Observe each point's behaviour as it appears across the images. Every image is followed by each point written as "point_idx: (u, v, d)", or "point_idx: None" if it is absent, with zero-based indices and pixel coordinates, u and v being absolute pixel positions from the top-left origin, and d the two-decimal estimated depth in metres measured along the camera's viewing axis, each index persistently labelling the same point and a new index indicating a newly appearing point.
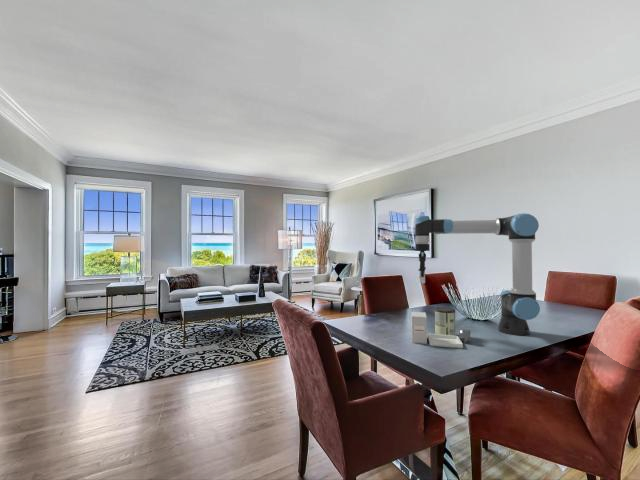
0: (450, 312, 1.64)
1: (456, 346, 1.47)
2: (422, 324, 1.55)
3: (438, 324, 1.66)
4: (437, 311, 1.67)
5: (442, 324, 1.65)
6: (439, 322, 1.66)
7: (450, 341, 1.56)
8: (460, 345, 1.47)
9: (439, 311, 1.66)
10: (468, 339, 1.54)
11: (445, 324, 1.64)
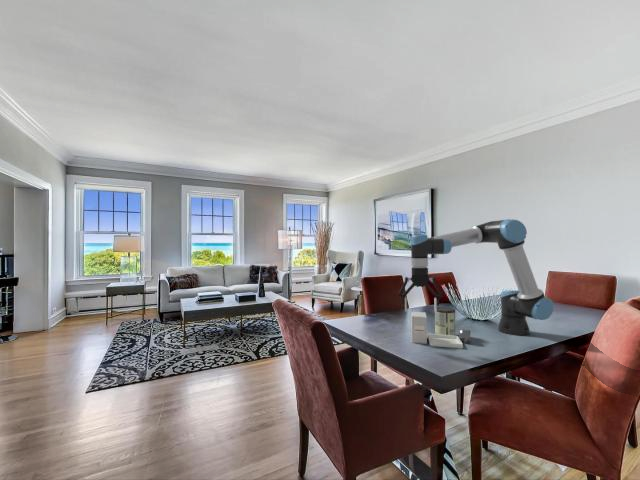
0: (450, 312, 1.64)
1: (456, 346, 1.47)
2: (422, 324, 1.55)
3: (438, 324, 1.66)
4: (437, 311, 1.67)
5: (442, 324, 1.65)
6: (439, 322, 1.66)
7: (450, 341, 1.56)
8: (460, 345, 1.47)
9: (439, 311, 1.66)
10: (468, 339, 1.54)
11: (445, 324, 1.64)
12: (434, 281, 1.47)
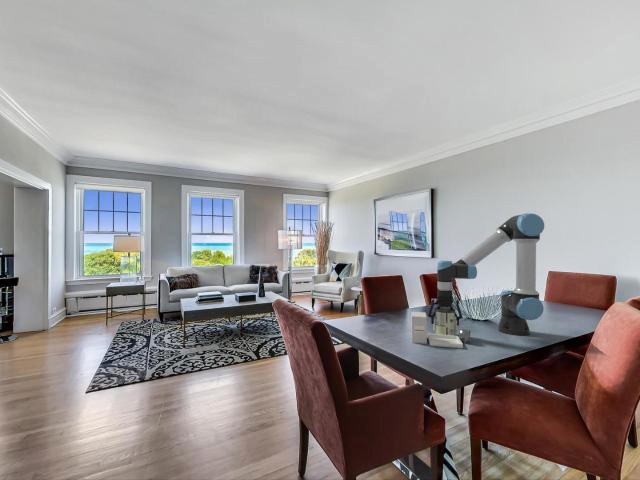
0: (450, 312, 1.64)
1: (456, 346, 1.47)
2: (422, 324, 1.55)
3: (438, 324, 1.66)
4: (437, 311, 1.67)
5: (442, 324, 1.65)
6: (439, 322, 1.66)
7: (450, 341, 1.56)
8: (460, 345, 1.47)
9: (439, 311, 1.66)
10: (468, 339, 1.54)
11: (445, 324, 1.64)
12: (457, 303, 1.66)
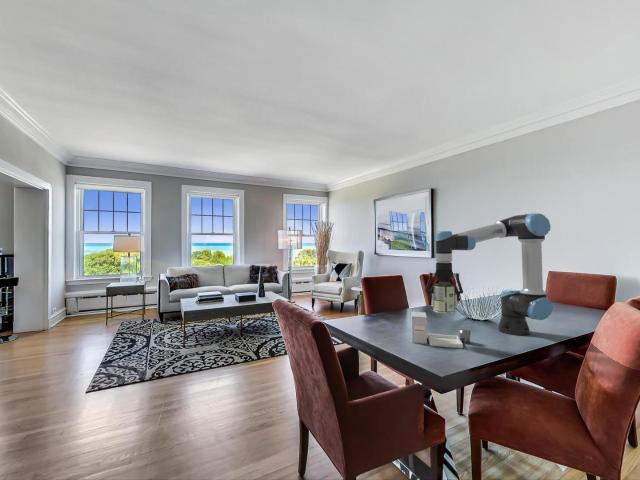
0: (449, 286, 1.51)
1: (456, 346, 1.47)
2: (422, 324, 1.55)
3: (436, 299, 1.54)
4: (435, 285, 1.54)
5: (441, 299, 1.52)
6: (437, 297, 1.53)
7: (450, 341, 1.56)
8: (460, 345, 1.47)
9: (437, 285, 1.53)
10: (468, 339, 1.54)
11: (444, 299, 1.51)
12: (457, 277, 1.53)
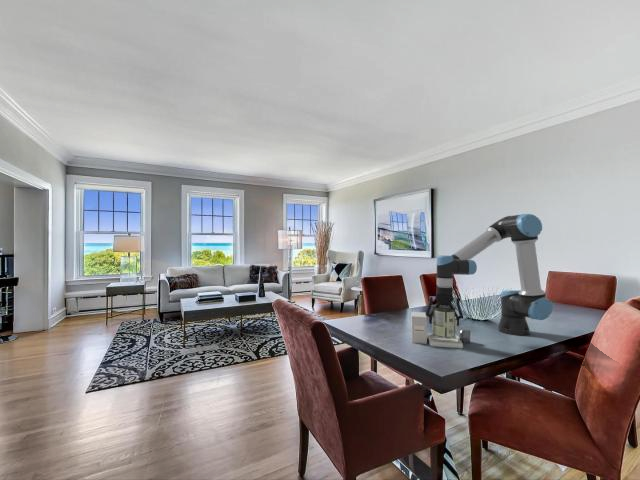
0: (450, 311, 1.51)
1: (456, 346, 1.47)
2: (422, 324, 1.55)
3: (436, 324, 1.54)
4: (435, 310, 1.54)
5: (441, 324, 1.52)
6: (437, 322, 1.53)
7: (450, 341, 1.56)
8: (460, 345, 1.47)
9: (438, 310, 1.53)
10: (468, 339, 1.54)
11: (443, 324, 1.51)
12: (458, 302, 1.53)
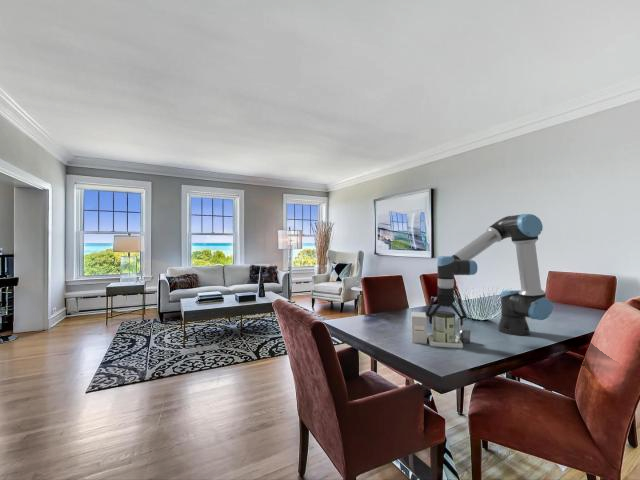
0: (450, 317, 1.51)
1: (456, 346, 1.47)
2: (422, 324, 1.55)
3: (437, 330, 1.53)
4: (435, 316, 1.54)
5: (441, 330, 1.52)
6: (437, 328, 1.53)
7: None
8: (460, 345, 1.47)
9: (438, 316, 1.53)
10: (468, 339, 1.54)
11: (444, 330, 1.51)
12: (459, 302, 1.53)
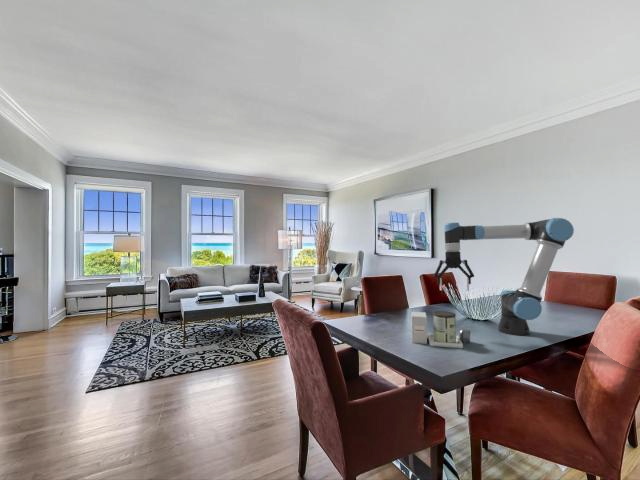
0: (450, 317, 1.51)
1: (456, 346, 1.47)
2: (422, 324, 1.55)
3: (437, 330, 1.53)
4: (436, 316, 1.54)
5: (441, 330, 1.52)
6: (438, 328, 1.53)
7: None
8: (460, 345, 1.47)
9: (438, 316, 1.53)
10: (468, 339, 1.54)
11: (444, 330, 1.51)
12: (466, 263, 1.68)
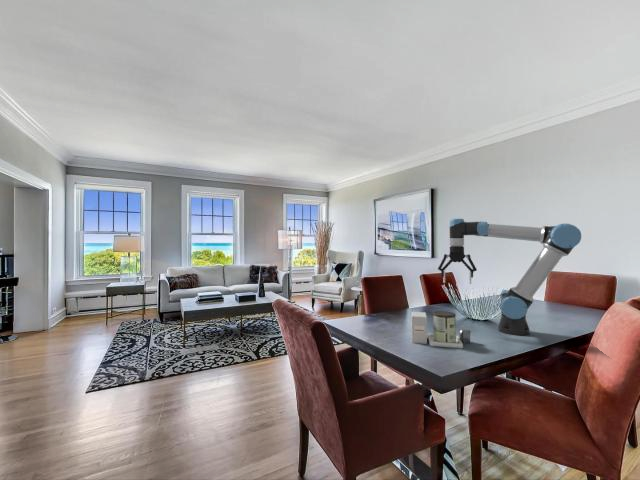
0: (450, 317, 1.51)
1: (456, 346, 1.47)
2: (422, 324, 1.55)
3: (437, 330, 1.53)
4: (436, 315, 1.54)
5: (441, 330, 1.52)
6: (438, 328, 1.53)
7: None
8: (460, 345, 1.47)
9: (438, 316, 1.53)
10: (468, 339, 1.54)
11: (444, 330, 1.51)
12: (469, 257, 1.76)
